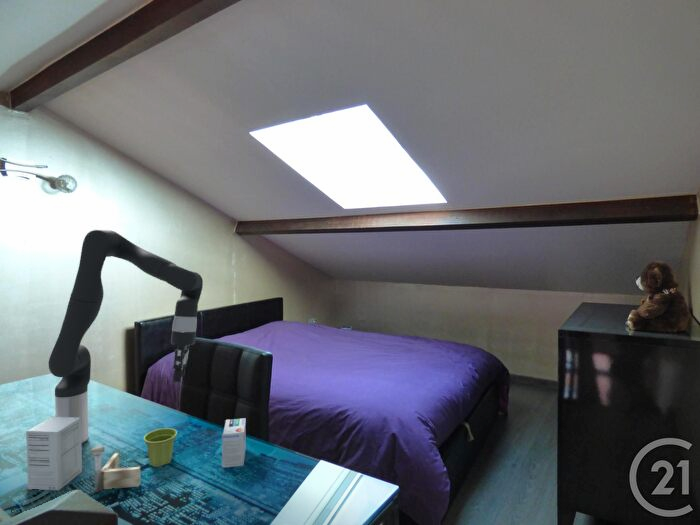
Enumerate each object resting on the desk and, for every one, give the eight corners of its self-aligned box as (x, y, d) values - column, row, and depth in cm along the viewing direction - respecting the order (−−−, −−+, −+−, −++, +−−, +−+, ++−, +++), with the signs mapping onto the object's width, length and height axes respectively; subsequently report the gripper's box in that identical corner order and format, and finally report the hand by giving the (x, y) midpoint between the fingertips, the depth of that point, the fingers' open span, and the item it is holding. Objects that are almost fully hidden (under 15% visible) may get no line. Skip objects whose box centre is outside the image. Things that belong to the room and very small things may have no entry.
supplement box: (53, 470, 118) (52, 415, 117) (83, 471, 118) (82, 416, 117) (26, 490, 108) (24, 430, 108) (58, 491, 108) (57, 431, 107)
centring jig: (80, 484, 111) (80, 443, 111) (117, 468, 120) (117, 430, 119) (104, 503, 103) (103, 459, 103) (142, 484, 111) (141, 444, 111)
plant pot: (151, 454, 128) (151, 428, 127) (181, 453, 128) (181, 427, 128) (138, 470, 118) (138, 442, 118) (170, 469, 119) (170, 441, 119)
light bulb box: (225, 450, 130) (225, 419, 130) (246, 448, 132) (246, 417, 131) (221, 468, 120) (221, 434, 120) (244, 466, 121) (244, 432, 121)
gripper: (175, 327, 137) (170, 374, 136) (168, 331, 124) (162, 383, 122) (198, 328, 140) (193, 375, 138) (193, 332, 126) (188, 383, 124)
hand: (178, 379), depth 130 cm, fingers open, 8 cm apart
